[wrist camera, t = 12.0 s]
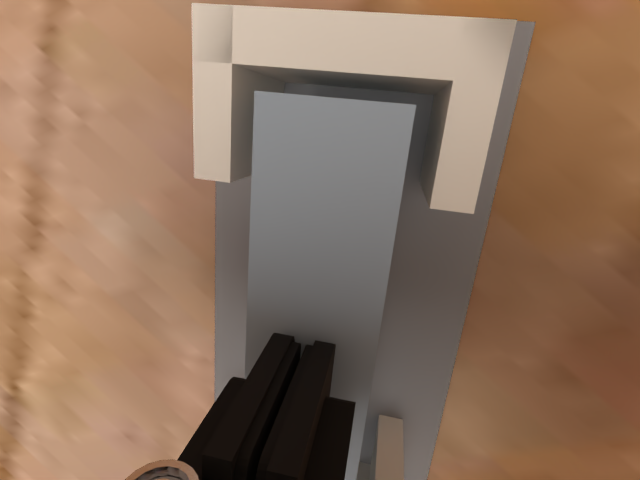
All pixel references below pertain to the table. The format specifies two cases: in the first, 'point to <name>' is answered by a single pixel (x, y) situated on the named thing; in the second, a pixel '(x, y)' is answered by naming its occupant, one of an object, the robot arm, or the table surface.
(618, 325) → the table surface
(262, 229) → the blue-grey rectangular bar
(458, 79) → the endcap board
